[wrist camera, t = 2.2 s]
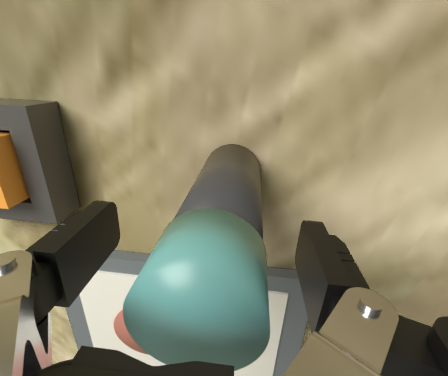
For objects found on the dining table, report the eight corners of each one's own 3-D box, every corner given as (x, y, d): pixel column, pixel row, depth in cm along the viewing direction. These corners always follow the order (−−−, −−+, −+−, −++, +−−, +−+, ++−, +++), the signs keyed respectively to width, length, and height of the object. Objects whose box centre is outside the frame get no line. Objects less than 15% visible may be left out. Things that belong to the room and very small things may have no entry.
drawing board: (314, 272, 20) (318, 285, 19) (286, 389, 27) (288, 404, 26) (56, 243, 22) (44, 254, 21) (89, 359, 29) (81, 372, 28)
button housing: (57, 101, 17) (25, 105, 15) (80, 206, 20) (57, 224, 18) (-51, 95, 18) (-97, 99, 16) (-12, 198, 21) (-45, 213, 19)
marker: (264, 144, 17) (279, 279, 6) (258, 199, 18) (262, 382, 8) (204, 140, 17) (112, 260, 6) (203, 194, 19) (131, 363, 8)
